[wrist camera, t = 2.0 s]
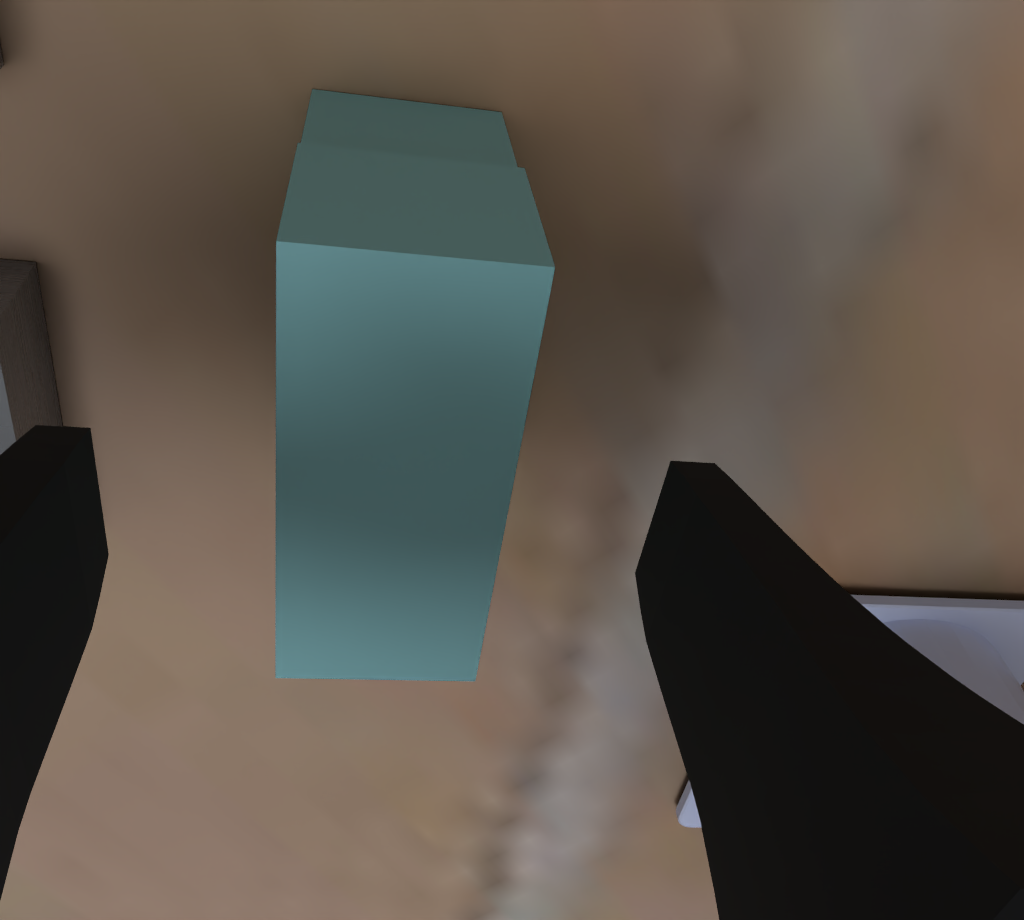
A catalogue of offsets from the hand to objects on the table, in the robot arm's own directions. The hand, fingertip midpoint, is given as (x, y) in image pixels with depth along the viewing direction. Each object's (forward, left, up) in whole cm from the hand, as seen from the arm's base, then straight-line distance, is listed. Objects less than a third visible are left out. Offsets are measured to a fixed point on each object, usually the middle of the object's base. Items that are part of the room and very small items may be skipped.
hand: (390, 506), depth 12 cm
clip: (0, 0, -6) cm, 6 cm away
